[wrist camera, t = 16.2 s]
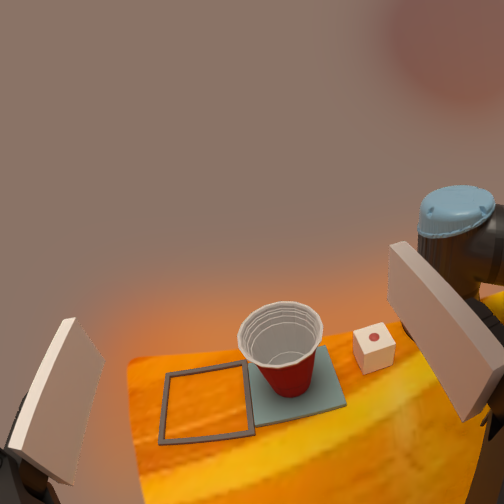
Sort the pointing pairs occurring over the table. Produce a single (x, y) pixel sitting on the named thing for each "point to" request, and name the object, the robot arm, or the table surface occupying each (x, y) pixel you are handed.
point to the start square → (212, 437)
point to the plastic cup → (282, 345)
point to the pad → (309, 403)
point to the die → (373, 348)
